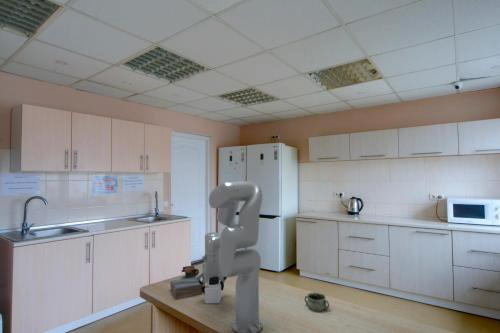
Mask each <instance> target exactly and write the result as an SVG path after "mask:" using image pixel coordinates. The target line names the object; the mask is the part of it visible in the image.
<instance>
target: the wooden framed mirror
mask: <svg viewBox="0 0 500 333" xmlns="http://www.w3.org/2000/svg"><path fill="white" fill-rule="evenodd" d="M170 292H171V294H172V295H173V297H174V299H175V300H181V299H185V298H191V297H196V296H201V295H203V292H202V290H201V284H199V282H198V281H197V279H196V277H192V278H186V279H183V278H182V279H176V280H171V281H170Z"/></svg>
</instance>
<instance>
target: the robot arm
mask: <svg viewBox="0 0 500 333" xmlns="http://www.w3.org/2000/svg"><path fill="white" fill-rule="evenodd" d="M208 202H209V204H208V205H209V206H210V208H212V209H218V210H217V214H216V220H217V221H218V223H220V224H221V225H223V226H225V227H224V228H223V229H222V231H221V233H220V234H219V233H218V232H215V231H214V232H213V231H212V232H207V233H205V235H204V255H202V257H201V258H202V260H203V263H202V264H203V265H202V272H201V273H200V274H198V275H197V276H196V277H195V278H196V279H197V281H198V282H199V284H201V290H202V295H205V288H206V285H207V282H208V279H209V278H211V277H219V284H221V292H223V291H224V288H225V282H226V280H227V279H228V278H233V277H237V278H236V282H235V319H234V320H233V321H232V323H231V327H232V328H231V329H232V330H233V331H234V332H235V333H259V332H261V331H262V329H263V326H264V324H263V323H264V322H263V320H261V319H260V313H259V312H260V309H259V308H260V303H259V302H260V301H259V300H260V299H259V297H260V295H259V292H260V291H259V288H260V287H259V286H260V284H259V283H260V282H259V281H260V280H259V279H260V269H261V265H262V257H261V255H260V253H259V251H258V250H256V249H254V248H250V247H255V246H256V245H257V244H258V240H259V234H260V233H259V231H260V212H261V208H262V203H263V190H262V188H261V186H260V185H259V184H258V183H257V182H256V181H251V180H238V181H236V180H235V181H224V182H221V183H220V184H218V185H217V186H216V187H214V188H213V189H212V190H211V192H210V194H209V197H208ZM240 202H244V204H243V205H242V206H241V208H240V209H239V213H238V222H237V223H236V221H235V220H236V219H235V218H236V216H237V211H238V208H239V205H240ZM201 278H202V280H201Z"/></svg>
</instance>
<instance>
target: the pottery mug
mask: <svg viewBox="0 0 500 333" xmlns="http://www.w3.org/2000/svg"><path fill="white" fill-rule="evenodd" d="M182 273H184V274H185V275H184V276H182V279H186V278H192V277H195V278H196V277H197V276H199V275H200V274H199V273H200V270H199V269H198V268H195V266H194V265H184V266H183V267H182V269H181V274H182Z"/></svg>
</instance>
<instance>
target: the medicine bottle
mask: <svg viewBox="0 0 500 333" xmlns="http://www.w3.org/2000/svg"><path fill="white" fill-rule="evenodd" d="M221 300H222V290H221V284H220V280H219V277H211V278H209V279H208V282H206V285H205V294H204V303H205V304H220V301H221Z"/></svg>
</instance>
